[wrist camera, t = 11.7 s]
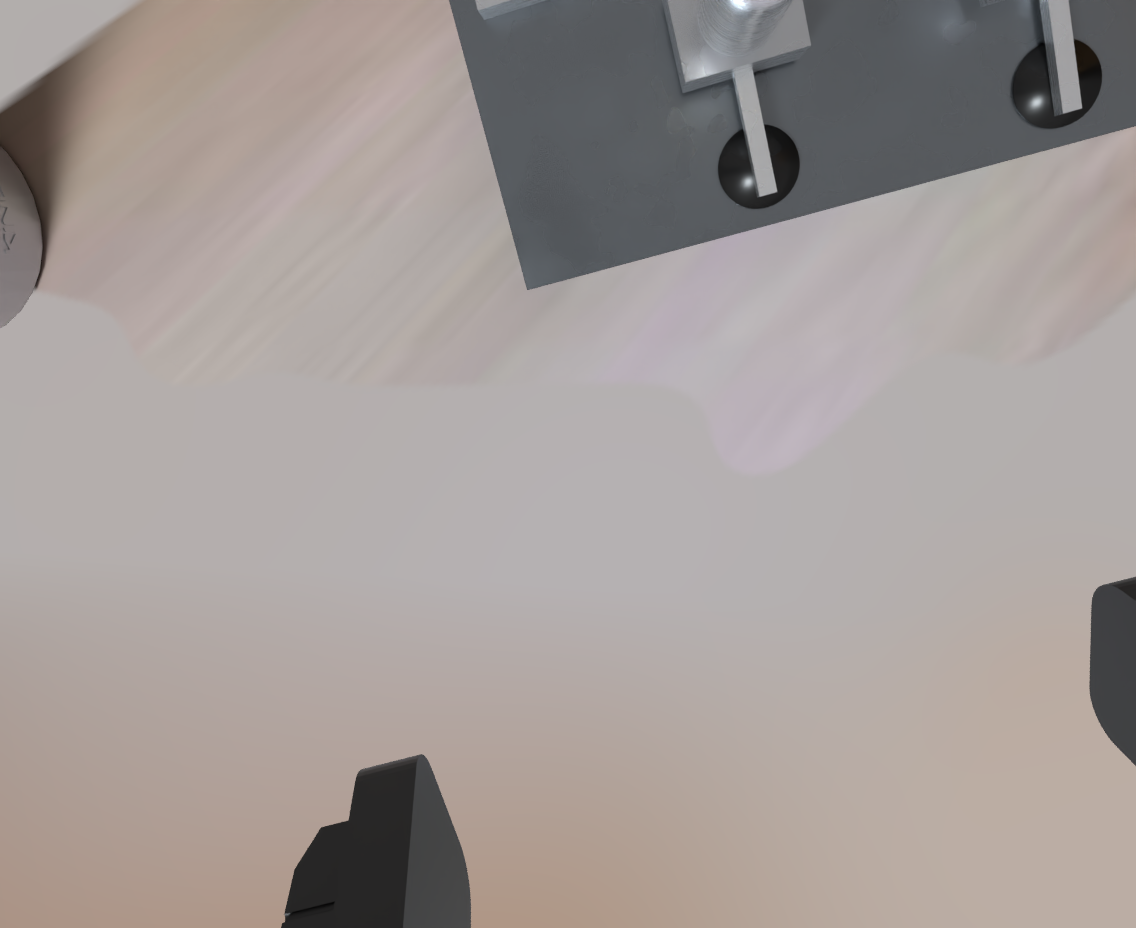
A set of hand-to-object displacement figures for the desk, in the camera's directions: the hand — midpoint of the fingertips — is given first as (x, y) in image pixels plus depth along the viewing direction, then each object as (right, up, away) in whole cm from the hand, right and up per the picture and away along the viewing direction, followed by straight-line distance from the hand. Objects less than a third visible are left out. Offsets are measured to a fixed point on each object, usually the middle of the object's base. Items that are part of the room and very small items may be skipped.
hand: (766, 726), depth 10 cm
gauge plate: (+5, +19, +21) cm, 28 cm away
